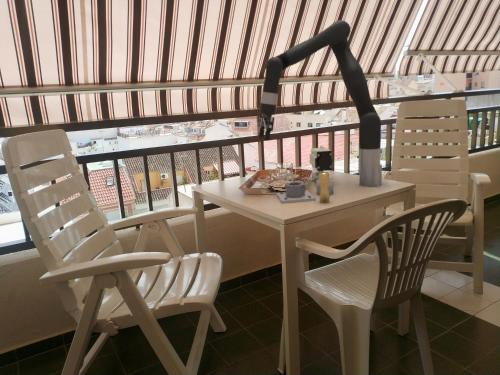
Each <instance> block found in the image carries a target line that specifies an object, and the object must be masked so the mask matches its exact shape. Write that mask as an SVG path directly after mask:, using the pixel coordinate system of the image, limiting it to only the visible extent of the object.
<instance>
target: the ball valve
mask: <svg viewBox="0 0 500 375" xmlns="http://www.w3.org/2000/svg"><path fill="white" fill-rule="evenodd" d="M309 164H311V167H312V168H313V169H314V170H315V172H314V173H312V174H311V179H312V181H315V182H317V180H318V179H319V173H320V172H328V171H333V151H332V150H331V149H329V148H327V147H325V146H323V145H319V147H312V148H311V150H310V153H309Z"/></svg>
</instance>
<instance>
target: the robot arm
mask: <svg viewBox="0 0 500 375" xmlns="http://www.w3.org/2000/svg"><path fill="white" fill-rule="evenodd" d="M350 35H351V26H350V24H349V23H348V22H347V21H346V20H342V19H340V20H335V21H333V23H331V25H329V26H328V27H327V28H325V29H324V30H322V31H320V32H319V33H317V34H315V35H314V36H312V37H310V38H308V39H306V40H304V41H302V42H301V43H300V42H299V43H298V44H296V45H294V46H292V47H290V48H288V49H287V50H285V51H284V52H283V53H280V54H278V55H275V56H272V57H270V58H269V59H268V60H267V61H266V63H265V77H264V82H263V87H262V93H261V96H260V104H259V105H260V106H259V110H258V111H259V113H260V114H259V119H258V127H257V128H259V133H258V137H259V138H260V139H261V138H262V139H263V138H264V140H265V141H270V138H271V132H273V130H274V125H275V124H274V122H275V117H273V115H274V116H275V115H276V113H277V106H278V100H279V99H278V96H279V88H280V80H281V77H282V71H284V70H285V69H287V68H289V67H291V66H294V65H296V64H298V63H300V62H302V61H304V60H306V59H307V58H309V57H311V56H312V55H314V54H315V53H316V52H319V51H320V50H322V49H323V48H326V47H328V46H330V49H331V50H332V53H333V55H334V56H335V59H336V62H337V65H338V69H339V72H340V75H341V78H342V80H343V84H344V86H345V89H346V91H347V93H348V95H349V96H350V99H351V100H352V103H353V104H354V106H355V109H356V112H357V116H358V119H359V122H358V123H359V127H358V128H359V132H358V136H359V140H358V142H359V143H358V144H359V147H358V148H359V152H358V153H359V155H358V156H359V160H358V161H359V163H358V164H359V167H358V168H359V169H358V170H359V171H358V172H359V176H358V178H359V179H358V182H359V186H362V187H367V188H369V187H371V188H372V187H378V186H379V187H380V186H382V180H383V165H382V164H381V148H382V147H381V142H382V140H381V138H382V120H381V118H380V116H379V114H378V113H377V110H376V108H375V106H374V104H373V102H372V99H371V98H372V97H371V95H370V94H371V93H370V90H369V85H368V82H367V78H366V75H365V73H364V70H363V68H362V66H361V64H360V62H358V60H357V58H356V57H355V56H354V55H353V53H352V51H351V47H350V44H349V40H348V39H349V36H350Z"/></svg>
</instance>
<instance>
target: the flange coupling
mask: <svg viewBox="0 0 500 375" xmlns="http://www.w3.org/2000/svg"><path fill="white" fill-rule="evenodd" d="M285 188H286V192H281V191H279V192H276V197H277V198H278V199H279V201H280V202H281V203H282V204H289V203H300V202H303V203H304V202H312V201H313V202H315V201H316V197H315V196H314V195H312V193H311V192H309V191H308V190H306V189H305V184H304V183H301V182H291V183H287V184H285Z"/></svg>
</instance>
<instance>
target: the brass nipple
mask: <svg viewBox="0 0 500 375" xmlns="http://www.w3.org/2000/svg"><path fill="white" fill-rule="evenodd" d="M329 179H330V172H328V171H324V172H320V173H319V184H320V195H319V203H322V204H328V203H330V195H329Z"/></svg>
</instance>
